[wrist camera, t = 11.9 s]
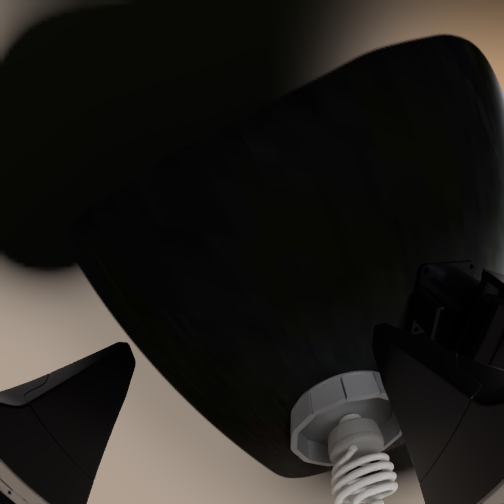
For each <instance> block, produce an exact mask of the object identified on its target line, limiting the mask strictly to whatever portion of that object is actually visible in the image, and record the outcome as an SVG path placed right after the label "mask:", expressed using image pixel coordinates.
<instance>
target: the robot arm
mask: <svg viewBox="0 0 504 504" xmlns="http://www.w3.org/2000/svg"><path fill="white" fill-rule="evenodd" d="M470 265H471V267H470ZM425 268H426V271H425V272H424V269H425ZM474 269H475V263H474V262H473V261H470V260H468V261H454V262H440V263H426V264H422V265H421V266H420V268H419V275H418V283H417V289H416V291H415V296H414V303H413V309H412V314H411V317H412V320H411V325H410V331H411V333H412V334H420V333H426V334H427V335H428V336H429V338H430V339H431V340H435V341H436V342H437V343H438V344H439V345H440V346H438V345H436V344H433V343H431V342H429V341H426V340H424V339H422V338H419V337H417V336H415V335H412V334H410V333H408V332H405V331H403V330H401V329H398V328H396V327H394V326H391V325H389V324H387V323H383V324H378V325H375V327H374V332H373V343H372V349H373V353H374V357H375V360H376V363H377V367H378V370H379V374H380V377H381V381H382V384H383V387H384V389H385V392H386V394H387V397H388V399H389V401H390V404H391V406H392V409H393V411H394V414H395V416H396V419H397V422H398V424H399V427H400V429H401V432H402V435H403V437H404V440H405V443H406V445H407V448H408V451H409V454H410V457H411V459H412V462H413V465H414V468H415V471H416V474H417V477H418V480H419V483H420V487H421V490H422V494H423V497H424V501H425V504H504V275H502V274H499V273H495V272H492V271H489V270H486V269H483V271H482V274H481V276H482V278H481V281H478V280H476V279H475V278H473V276H474ZM416 327H417V328H416ZM415 328H416V329H415ZM414 329H415V330H414ZM134 368H135V358H134V356H133V353H132V351H131V348H130V345H129V344H128V343H126V342H118V343H115V344H113V345H111V346H109V347H107V348H104V349H102V350H100V351H98V352H96V353H94V354H91V355H89V356H87V357H85V358H83V359H80V360H78V361H76V362H74V363H72V364H69V365H67V366H65V367H63V368H60V369H58V370H56V371H54V372H51V373H50V374H47V375H45V376H42V377H40V378H37V379H35V380H32V381H30V382H27V383H24V384H22V385H19V386H16V387H13V388H11V389H7V390H4V391H1V392H0V504H87V501H88V498H89V494H90V491H91V488H92V485H93V481H94V479H95V476H96V473H97V470H98V467H99V464H100V462H101V459H102V456H103V453H104V451H105V448H106V445H107V443H108V440H109V437H110V435H111V432H112V429H113V427H114V424H115V422H116V420H117V417H118V415H119V412H120V410H121V407H122V405H123V402H124V400H125V397H126V394H127V391H128V388H129V385H130V381H131V378H132V375H133V372H134Z"/></svg>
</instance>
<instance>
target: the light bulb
mask: <svg viewBox="0 0 504 504" xmlns="http://www.w3.org/2000/svg"><path fill="white" fill-rule="evenodd" d="M383 447H384V440H383V435H382V433H381V431H380V429H379V427H378V425H377V423H376V422H375V421H374V420H372V419H370V418H362V417H361V416H360V415H359V414H348V415H346V416H344V417H343V418H341V420H340V421H339V425H337V426H336V427H335V428H334V429H333V430H332V431H331V432H330V434H329V436H328V454H329V457H330V460H331V461H332V462H333V463H334V464H335V466H334V467H333V469H332V479H331V486H332V496H333V498H334V504H343V503H349V504H359V503H365V502H371V503H367V504H384V502H383V501H381V500H380V501H375V500H378V499H382V498H384V497H386V496H389V495H390V494H392V493H394V492H395V491H396V489H397V488H398V484H397V483H396V482H394V480H395V479H396V476H397V475H396V473H395V472H392V470H393V469H394V466H393V463H391V462H389V456H388V455H387V454H385V453H380V452H381V450H382V449H383ZM373 460H380V461H379V462H376V463H369V462H370V461H373ZM342 466H343V467H342ZM357 466H363V467H360V468H358V469H356V470H354V471H352V472H350V473H348V474H347V475H345V476H343V475H344V474H345V473H347V472H348V471H349V470H351V469H353V468H355V467H357ZM381 469H384V470H382V471H381V472H379V473H376V474H373V475H370V476H367V477H363V478H357V477H360V476H362V475H364V474H367V473H369V472H372V471H376V470H381ZM382 480H384V481H382ZM377 481H382V482H380V483H377V484H374V485H371V486H367V487H364V486H366V485H369V484H372V483H374V482H377ZM345 485H348V486H347V487H344V486H345ZM348 495H355V496H354V497H348ZM372 501H375V502H372Z"/></svg>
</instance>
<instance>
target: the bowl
mask: <svg viewBox="0 0 504 504" xmlns="http://www.w3.org/2000/svg"><path fill="white" fill-rule="evenodd" d="M348 414H359V415H360V416H361V417H362V418H370V419H372V420H374V421H375V422H376V423H377V425H378V427H379V429H380V431H381V433H382V435H383V440H384V447H383V449H382V450H381V452H382V451H384V450H385V449H386V448H387V447H388V446H390V445H391V444H392V443H393V442H394V441H396V440H397V439H398V438H399V437H400V436H401V435H402V432H401V429H400V427H399V424H398V422H397V419H396V416H395V414H394V411H393V409H392V406H391V404H390V401H389V399H388V397H387V394H386V392H385V389H384V387H383V384H382V381H381V377H380V374H379V372H377V371H370V370H360V371H351V372H346V373H342V374H338V375H335V376H332V377H330V378H328V379H325V380H323V381H321V382H319V383H318V384H316V385H314V386H313V387H311V388H310V389H309V390H307V391H306V392H305V393H304V394H303V395H302V396H301V397H300V398H299V399H298V400H297V402H296V403H295V405H294V407H293V409H292V411H291V427H290V434H291V451H292V452H294V453H295V454H296V455H297V456H298V457H300V458H301V459H302V460H303V461H304V462H305V461H306V462H307V463H313V464H318V465H323V466H329V465H330V466H335V464H334V463H333V462H332V461H331V460H330V457H329V454H328V436H329V434H330V432H331V431H332V430H333V429H334V428H335V427H336V426H337V425H339V421H340V420H341V418H343V417H344V416H346V415H348Z"/></svg>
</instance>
